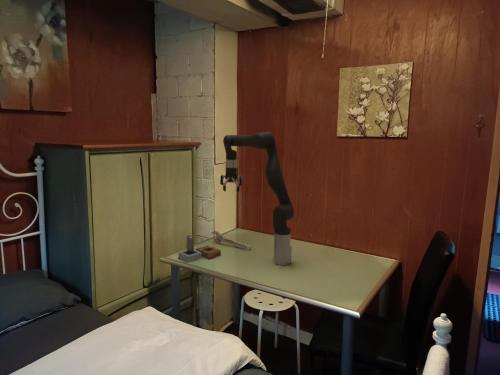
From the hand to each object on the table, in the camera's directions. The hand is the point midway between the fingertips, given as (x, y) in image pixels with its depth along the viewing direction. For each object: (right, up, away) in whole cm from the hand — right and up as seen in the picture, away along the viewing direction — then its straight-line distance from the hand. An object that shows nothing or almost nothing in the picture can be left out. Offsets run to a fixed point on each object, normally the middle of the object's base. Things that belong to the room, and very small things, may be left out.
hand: (231, 191), depth 236 cm
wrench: (0, -35, -1) cm, 35 cm away
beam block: (-13, -37, -18) cm, 44 cm away
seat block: (-22, -38, -24) cm, 51 cm away
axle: (-22, -38, -24) cm, 50 cm away
